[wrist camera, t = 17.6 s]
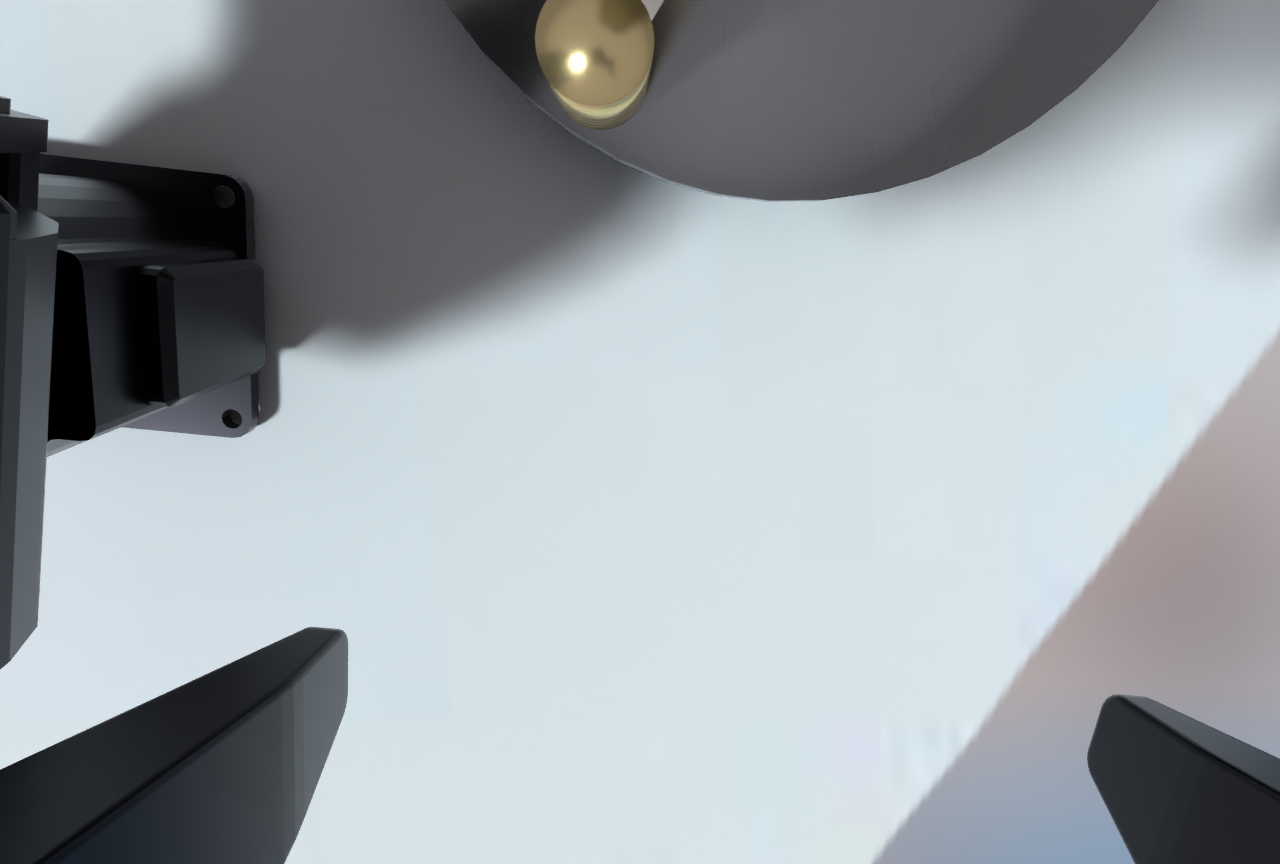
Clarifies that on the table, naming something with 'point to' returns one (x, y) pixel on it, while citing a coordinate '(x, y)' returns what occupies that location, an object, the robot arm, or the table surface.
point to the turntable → (796, 82)
